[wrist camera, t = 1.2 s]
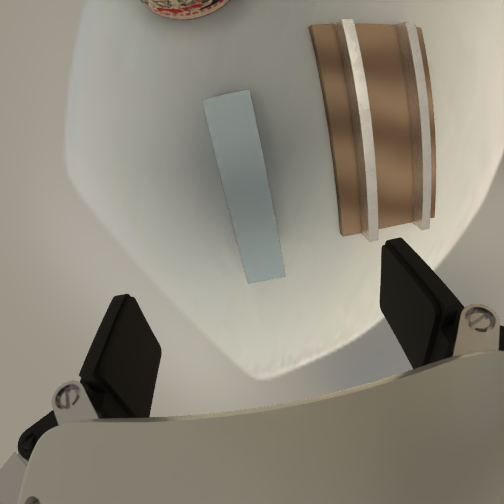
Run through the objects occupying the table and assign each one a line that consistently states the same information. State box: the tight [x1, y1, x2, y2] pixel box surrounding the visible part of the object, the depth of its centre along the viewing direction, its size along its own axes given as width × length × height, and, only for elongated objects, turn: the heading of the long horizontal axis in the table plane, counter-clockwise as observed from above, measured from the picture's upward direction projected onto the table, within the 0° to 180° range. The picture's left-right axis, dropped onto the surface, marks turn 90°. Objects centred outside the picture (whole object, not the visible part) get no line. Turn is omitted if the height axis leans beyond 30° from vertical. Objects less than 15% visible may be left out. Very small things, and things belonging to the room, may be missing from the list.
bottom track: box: [309, 19, 436, 242], centre depth 24 cm, size 20×11×3 cm, turn 12°
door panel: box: [202, 89, 286, 284], centre depth 24 cm, size 14×3×7 cm, turn 11°
